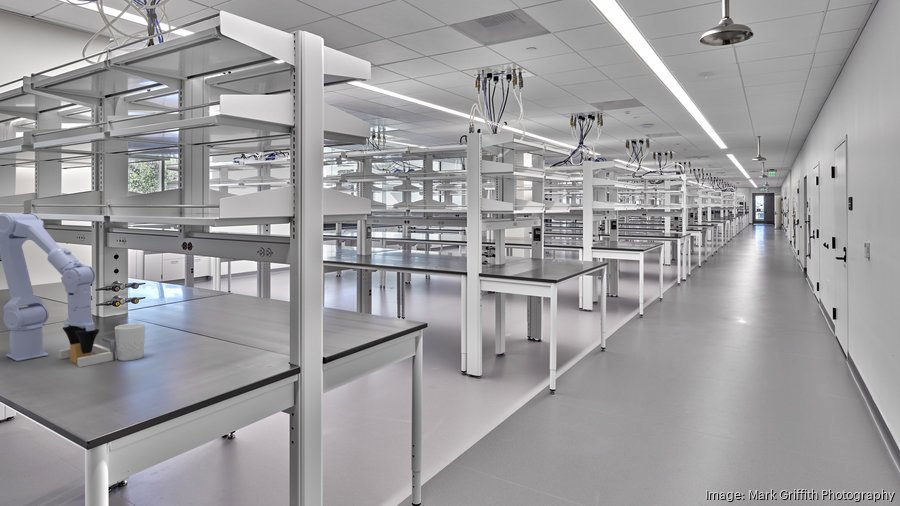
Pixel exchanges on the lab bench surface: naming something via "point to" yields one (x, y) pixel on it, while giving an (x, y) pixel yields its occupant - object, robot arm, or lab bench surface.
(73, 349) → the tan wooden cube
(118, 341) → the white cup
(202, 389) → the lab bench surface
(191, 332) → the lab bench surface
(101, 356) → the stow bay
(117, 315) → the lab bench surface
